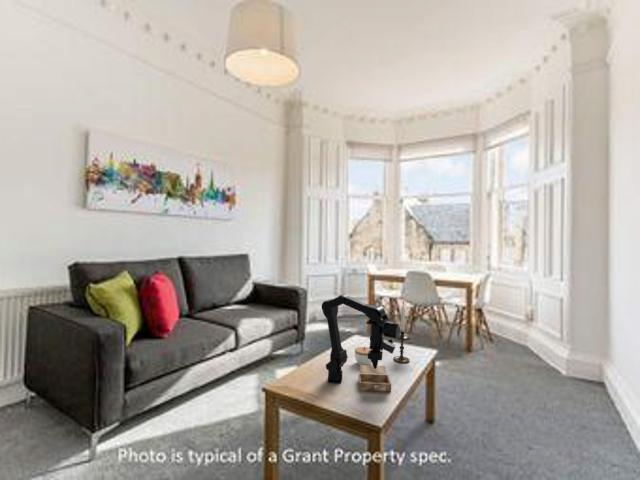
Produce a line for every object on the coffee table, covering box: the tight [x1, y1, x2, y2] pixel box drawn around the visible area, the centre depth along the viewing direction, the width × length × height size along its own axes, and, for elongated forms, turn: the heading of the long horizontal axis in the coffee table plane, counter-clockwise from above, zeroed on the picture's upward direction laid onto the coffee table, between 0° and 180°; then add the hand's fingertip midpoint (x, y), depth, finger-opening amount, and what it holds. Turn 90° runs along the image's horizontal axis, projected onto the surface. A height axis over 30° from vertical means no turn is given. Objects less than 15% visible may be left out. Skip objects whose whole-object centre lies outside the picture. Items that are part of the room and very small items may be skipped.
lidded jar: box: [354, 346, 372, 366], centre depth 195 cm, size 11×11×9 cm
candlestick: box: [392, 300, 413, 364], centre depth 201 cm, size 11×11×35 cm
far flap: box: [359, 364, 387, 375], centre depth 175 cm, size 12×5×1 cm, turn 87°
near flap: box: [362, 382, 392, 386], centre depth 158 cm, size 12×5×1 cm, turn 87°
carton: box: [357, 372, 392, 393], centre depth 167 cm, size 15×11×4 cm
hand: (375, 368), depth 160 cm, fingers closed
